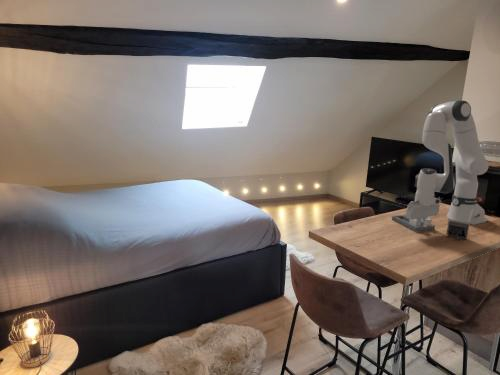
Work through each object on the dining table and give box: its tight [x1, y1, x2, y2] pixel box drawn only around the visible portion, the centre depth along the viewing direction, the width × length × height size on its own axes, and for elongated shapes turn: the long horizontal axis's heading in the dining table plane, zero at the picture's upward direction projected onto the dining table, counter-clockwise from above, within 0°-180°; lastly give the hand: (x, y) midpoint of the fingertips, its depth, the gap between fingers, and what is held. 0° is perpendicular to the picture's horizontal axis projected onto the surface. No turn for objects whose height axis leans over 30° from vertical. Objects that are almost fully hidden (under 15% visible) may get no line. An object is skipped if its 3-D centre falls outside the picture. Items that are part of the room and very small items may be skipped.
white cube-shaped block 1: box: [424, 217, 433, 226], centre depth 196 cm, size 4×5×5 cm
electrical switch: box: [445, 219, 471, 241], centre depth 182 cm, size 9×5×9 cm, turn 57°
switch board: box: [391, 214, 436, 233], centre depth 200 cm, size 12×19×3 cm, turn 16°
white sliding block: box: [409, 219, 419, 227], centre depth 194 cm, size 4×5×5 cm
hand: (420, 225), depth 191 cm, fingers closed
